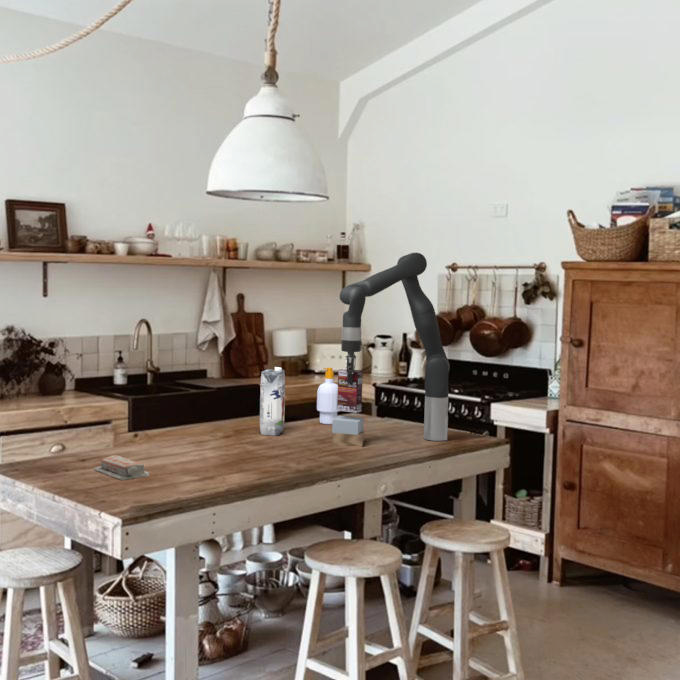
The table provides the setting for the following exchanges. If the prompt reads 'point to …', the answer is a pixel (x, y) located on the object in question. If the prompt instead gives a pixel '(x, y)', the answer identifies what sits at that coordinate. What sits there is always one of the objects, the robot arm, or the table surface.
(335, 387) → the soap bottle
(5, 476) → the table surface
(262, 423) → the juice carton
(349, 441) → the walnut block
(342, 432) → the pale gray block
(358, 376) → the supplement box
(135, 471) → the packaged product
